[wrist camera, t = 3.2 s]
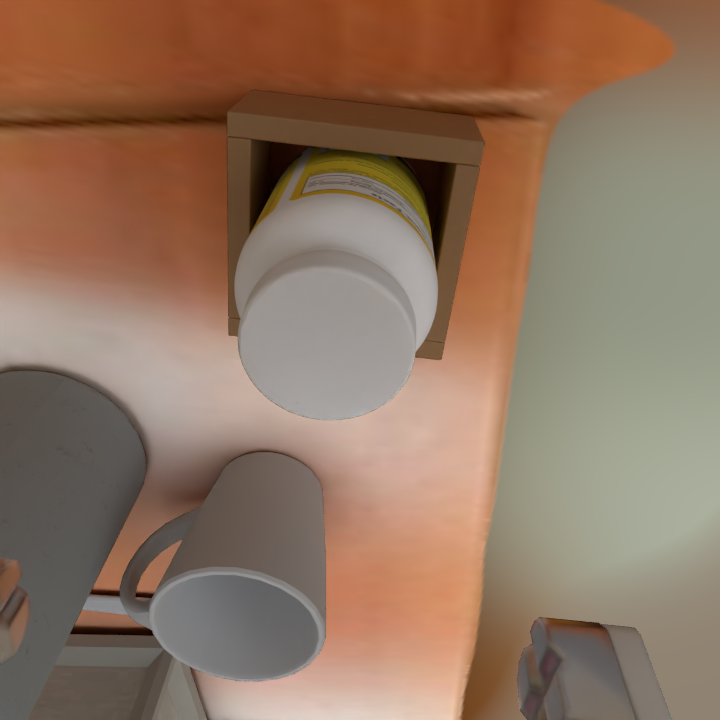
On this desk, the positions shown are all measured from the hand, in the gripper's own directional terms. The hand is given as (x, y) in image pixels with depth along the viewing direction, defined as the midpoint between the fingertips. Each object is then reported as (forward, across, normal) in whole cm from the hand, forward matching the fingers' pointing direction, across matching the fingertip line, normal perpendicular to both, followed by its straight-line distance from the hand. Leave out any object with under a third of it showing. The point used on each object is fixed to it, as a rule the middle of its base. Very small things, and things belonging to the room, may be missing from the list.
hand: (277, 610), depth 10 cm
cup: (+19, +4, +16) cm, 25 cm away
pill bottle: (+19, 0, 0) cm, 19 cm away
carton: (+19, 0, 0) cm, 19 cm away
